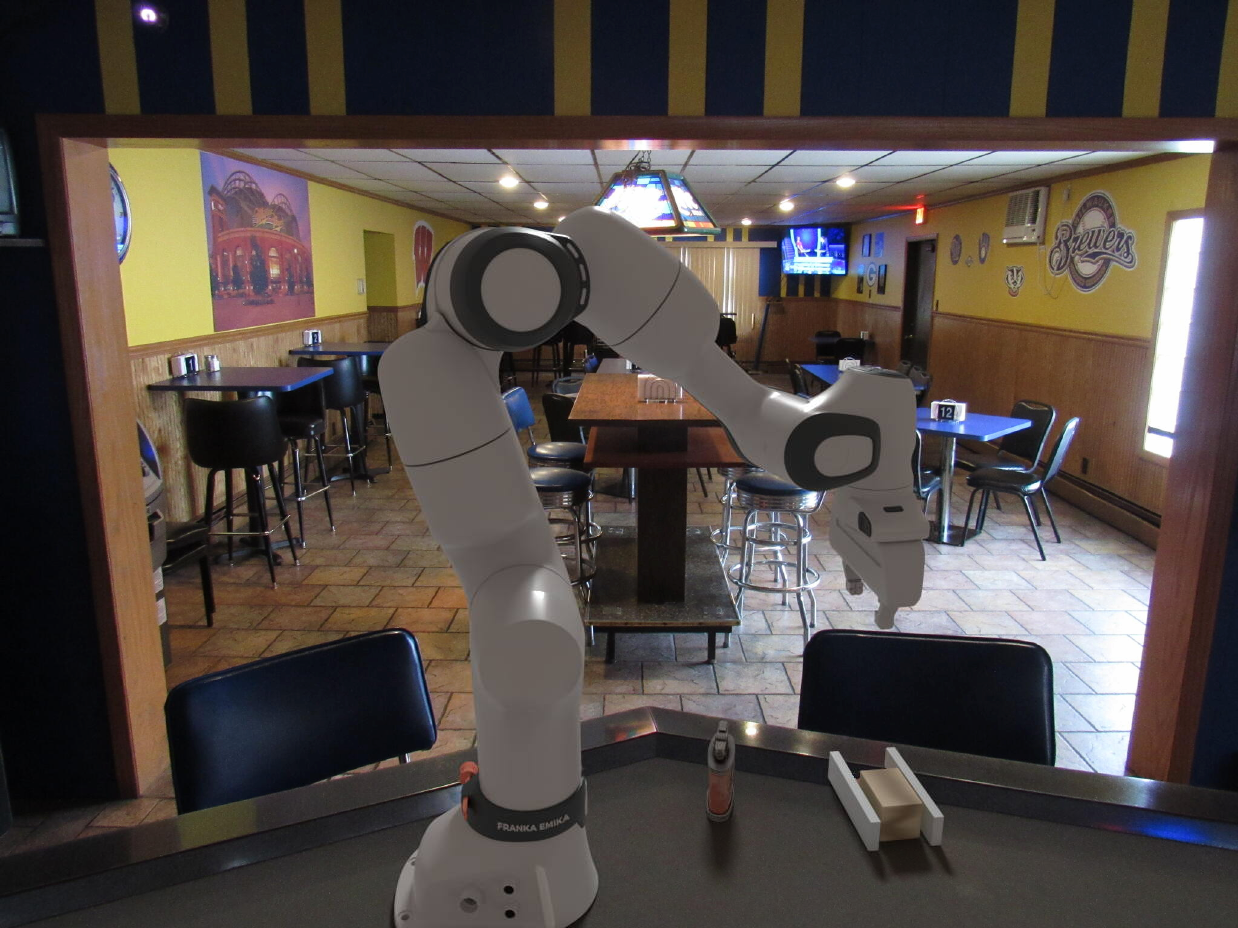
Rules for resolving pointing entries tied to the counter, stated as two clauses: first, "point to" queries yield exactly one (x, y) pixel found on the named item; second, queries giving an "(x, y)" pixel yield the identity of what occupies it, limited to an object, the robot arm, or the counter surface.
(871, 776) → the maple block
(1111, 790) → the counter surface
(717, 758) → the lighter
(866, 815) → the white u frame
